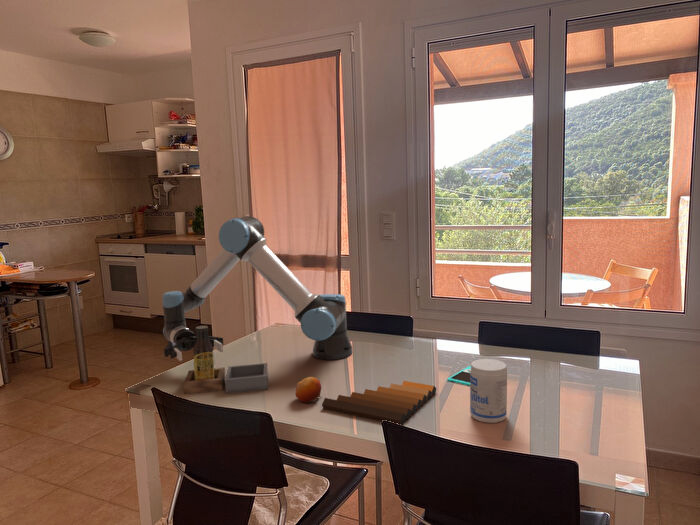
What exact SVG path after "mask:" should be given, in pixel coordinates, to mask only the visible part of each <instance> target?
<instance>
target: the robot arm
mask: <svg viewBox="0 0 700 525" xmlns="http://www.w3.org/2000/svg"><path fill="white" fill-rule="evenodd" d="M218 241H219V244H220V246H221V248H222V249H221V251H220V252H219V253H218V254H217V255H216V256H215V258H213V259H212V261H211V262H210V263H209V264H208V265H207V266H206V268H204V269H203V271H202V272H201V273H200V274H199V275H198V276H197V278H196V279H195V280H194V281H193V282H192V283H191V284H190V285H189V286H188V288H186V289H185V291H184V292H182V291H181V290H172V291H171V290H170V291H166V292H165V293H163V294H162V297H161V298H162V299H161V300H162V303H161V304H162V310H163V321H164V327H163V329H162V333H163V336H164V337H165V339H166V340H167V345H166V346H165V347H164V348H163V355H164V358H168V357H170V359H174V358H176V359H177V360H178V361H179V362H181V361H183V356H182V355H183V354H182V351H183V352H188V351H190V350H192V349H194V346H195V343H196V341H197V334H195V333H194V331H192V330H191V329H189V328H188V327H187V323H186V313H188V312H190V311H193V310H194V309H196V308H197V309H198V308H199V307H200V306H201V305H202V304H203V303H204V302H205V299H206V298H207V296H208V295H209V294H210V293H211V292H212V291H213V290H214V289H215V288H216V286H218V284H220V282H221V281H223V279H224V278H225V277H226V275H227V274H229V272H231V271H232V269H233V268H234V267H235V266H236V265H237V264H238V263H239V262H240V261H241V262H247V263H249V264H250V265H251V266H252V267H253V268H254V269H255V270H256V271H257V272H258V273H259V275H260V276H261V277H262V278H263V279H264V280H265V281H266V282H267V283H268V284H269V285H270V286H271V287H272V288H273V289H274V290H275V291H276V293H277V294H278V295H279V296H280V297H281V298H282V299H283V300H284V302H286V303H287V304H288V305H289V306H290V307H291V308H292V310H293V311H294V318H295V319H296V320H297V321H298V322H299V323H300V328H301V331H302V333H303V334H304V336H305V337H307V338H308V339H310V340H313V341H314V343H313V348H312V356H313V357H314V358H316V359H319V360H326V361H327V360H331V361H332V360H340V359H345V358H348V357H350V356H351V355H352V354H353V345H352V343H351V340H350V337H349V334H348V332H347V330H348V328H347V327H348V326H347V325H348V324H347V307H346V305H347V302H346V297H345V295H344V294H340V293H339V294H338V293H336V294H335V293H333V294H332V293H330V294H329V293H325V294H317V293H312V292H311V291H310V290H309V288H307V287H306V286H305V284H303V283H302V281H301V280H300V279H299V278H298V277H297V276H296V275H295V274H294V273H293V272H292V271H291V270H290V269H289V268H288V266H286V264H285V263H284V262H283V261H282V260H281V259H280V258H279V257H278V256H277V255H276V253H274V252H273V251H272V249H270V247H269V246H267V238H266V236H265V227H264V225H263V223H262V222H261V221H260V219H258V218H256V217H254V216H248V215H247V216H246V215H245V216H242V217H234V218H231V219H228V220H227V221H225V222H224V223H223V224H222V225H221V226H220V228H219V231H218ZM208 338H209V341H210V342H211V344H212V348H214V349H216V350H217V351H218V352H220V353H224V347H223V346H224V338H223V337H220V336H213V335H208Z"/></svg>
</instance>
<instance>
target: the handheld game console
mask: <svg viewBox="0 0 700 525" xmlns="http://www.w3.org/2000/svg"><path fill="white" fill-rule="evenodd" d="M470 370H471V365H469V366H466V367H465V368H463V369H462V370H460V371H458V372H456V373H454V374H453V375H451V376H449V377H447V378H446V381H447V380H448V381H447V382H450V381H453V382H452V383H454V382H455V383H456V384H459V383H461V384H460V385H464V386H468V387H470ZM455 383H454V384H455Z"/></svg>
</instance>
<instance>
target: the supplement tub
mask: <svg viewBox="0 0 700 525" xmlns="http://www.w3.org/2000/svg"><path fill="white" fill-rule="evenodd" d="M470 366H471V370H470V386H469V387H470V388H469V391H470V392H469V394H470V395H469V407H470V408H469V410H470V412H469V413H470V416H471V417H472V418H473V419H475V420H477V421H479V422H480V423H488V424H497V423H500V422H503V421H504V420H505V419H506V418H507V410H508V408H507V407H508V405H507V404H508V403H507V402H508V400H507V399H508V367H507V364H506V363H505V362H503V361H502V360H498V359H492V358H479V359H476V360H473V361H472V362H471V363H470Z"/></svg>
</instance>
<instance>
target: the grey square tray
mask: <svg viewBox="0 0 700 525" xmlns="http://www.w3.org/2000/svg"><path fill="white" fill-rule="evenodd" d="M226 370H227V371H226V373H225V376H226V377H225V381H224V384H225V394H236V393H245V392H247V393H248V392H257V391H265V390H266V391H267V390H268V387H269V385H268V384H269V382H268V380H269V374H268V373H269V372H268V362H265V363H263V362H262V363H254V364H253V363H252V364H241V365H229V366H227V369H226Z"/></svg>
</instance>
